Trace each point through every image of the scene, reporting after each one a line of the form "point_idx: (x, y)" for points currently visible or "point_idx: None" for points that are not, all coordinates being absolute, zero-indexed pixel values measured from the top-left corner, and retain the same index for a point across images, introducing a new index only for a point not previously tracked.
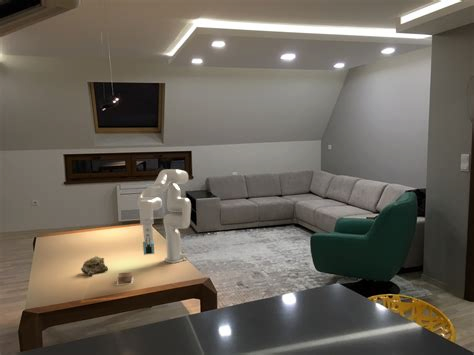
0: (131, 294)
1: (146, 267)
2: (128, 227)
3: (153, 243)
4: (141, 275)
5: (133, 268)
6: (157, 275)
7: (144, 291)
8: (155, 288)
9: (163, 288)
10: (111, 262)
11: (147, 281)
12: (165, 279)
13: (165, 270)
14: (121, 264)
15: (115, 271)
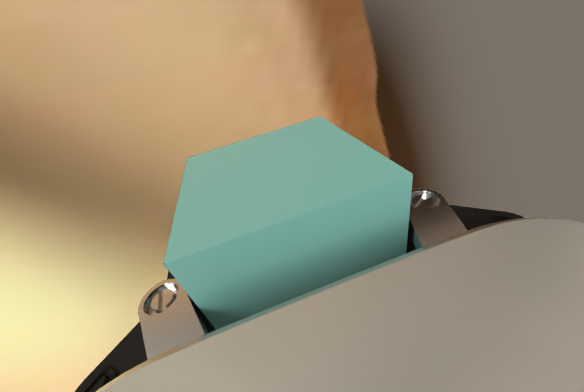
0: (383, 153)
1: (20, 206)
2: None
3: (405, 183)
4: (169, 187)
5: (70, 261)
6: (153, 95)
7: (369, 109)
8: (348, 60)
9: (357, 7)
10: (21, 368)
11: (253, 130)
12: (219, 18)
13: (26, 53)
14: (30, 328)
15: (138, 304)
